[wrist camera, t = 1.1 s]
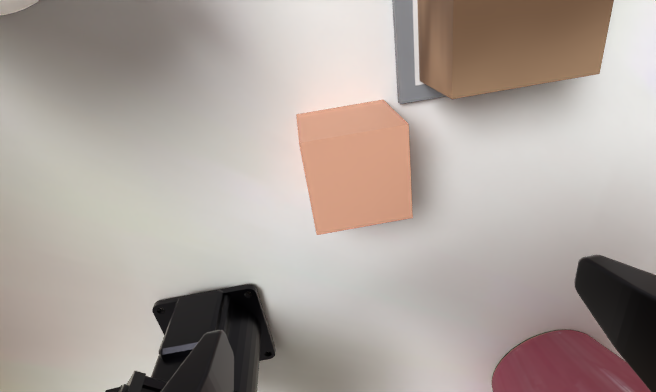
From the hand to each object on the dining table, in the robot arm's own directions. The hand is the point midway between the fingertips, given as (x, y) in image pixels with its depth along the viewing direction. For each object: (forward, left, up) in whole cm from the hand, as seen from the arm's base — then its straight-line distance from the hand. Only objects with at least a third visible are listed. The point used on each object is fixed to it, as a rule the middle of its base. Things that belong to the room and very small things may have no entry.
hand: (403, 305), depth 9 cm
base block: (+6, -7, -11) cm, 15 cm away
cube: (0, 0, -12) cm, 12 cm away
